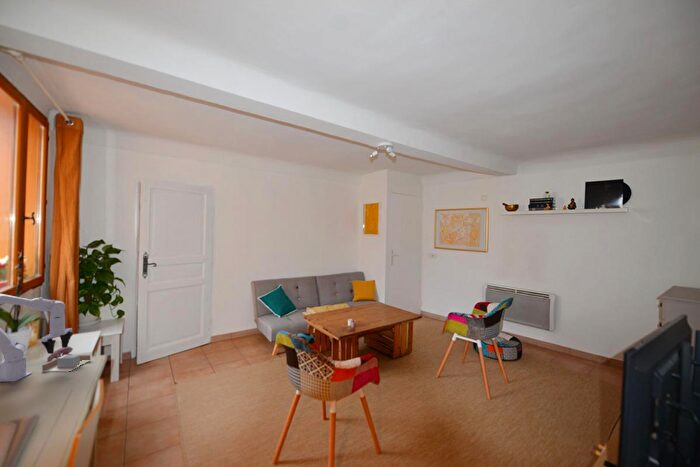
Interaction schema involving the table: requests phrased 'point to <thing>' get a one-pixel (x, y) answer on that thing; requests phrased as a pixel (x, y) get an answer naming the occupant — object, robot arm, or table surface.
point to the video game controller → (58, 353)
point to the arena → (52, 367)
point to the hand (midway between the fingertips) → (57, 350)
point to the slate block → (68, 361)
